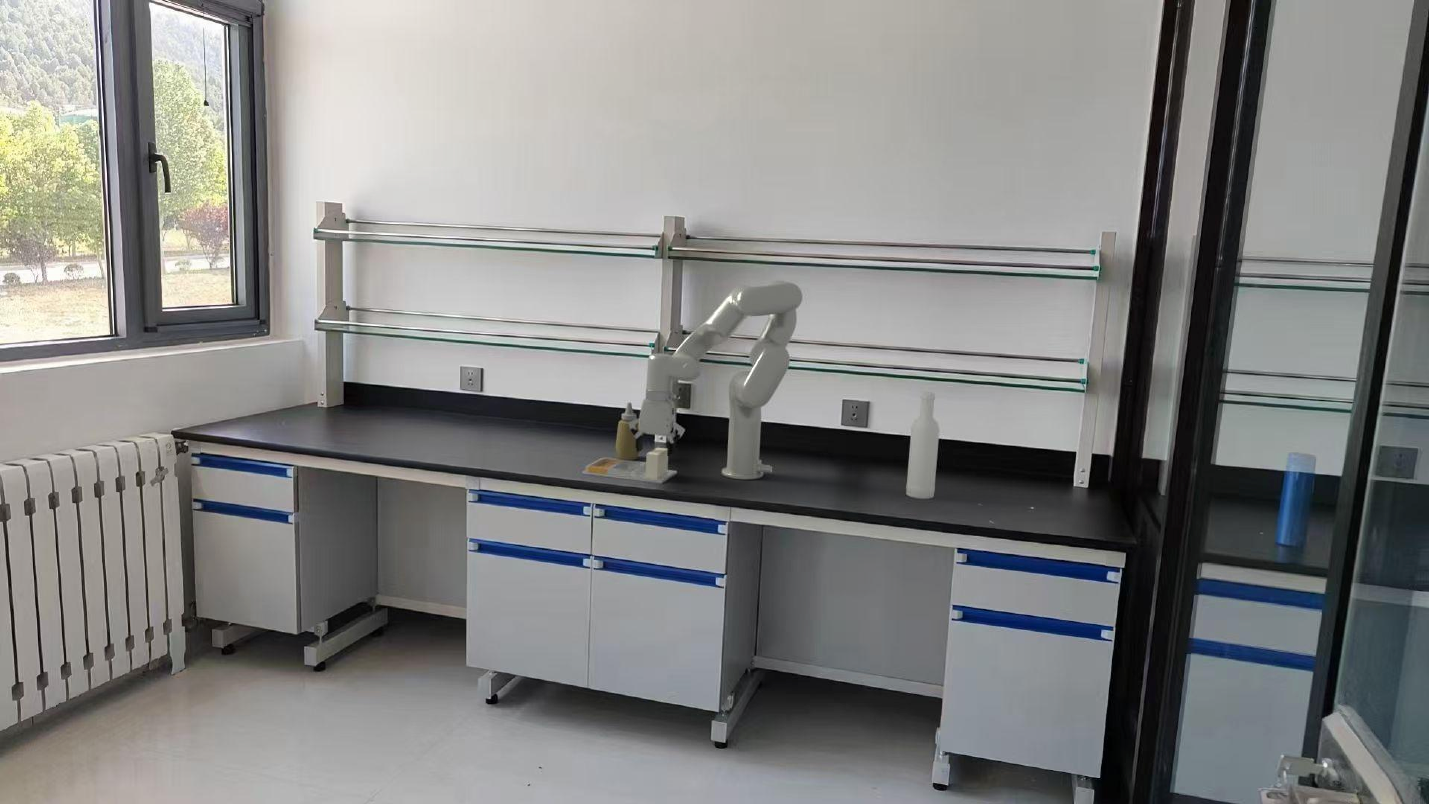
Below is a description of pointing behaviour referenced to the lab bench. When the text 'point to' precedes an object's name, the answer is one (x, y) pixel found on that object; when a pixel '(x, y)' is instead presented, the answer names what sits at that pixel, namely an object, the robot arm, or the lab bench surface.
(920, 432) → the bottle
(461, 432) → the lab bench surface
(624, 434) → the squeeze bottle
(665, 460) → the tall ivory prism
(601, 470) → the grey framed tray board
